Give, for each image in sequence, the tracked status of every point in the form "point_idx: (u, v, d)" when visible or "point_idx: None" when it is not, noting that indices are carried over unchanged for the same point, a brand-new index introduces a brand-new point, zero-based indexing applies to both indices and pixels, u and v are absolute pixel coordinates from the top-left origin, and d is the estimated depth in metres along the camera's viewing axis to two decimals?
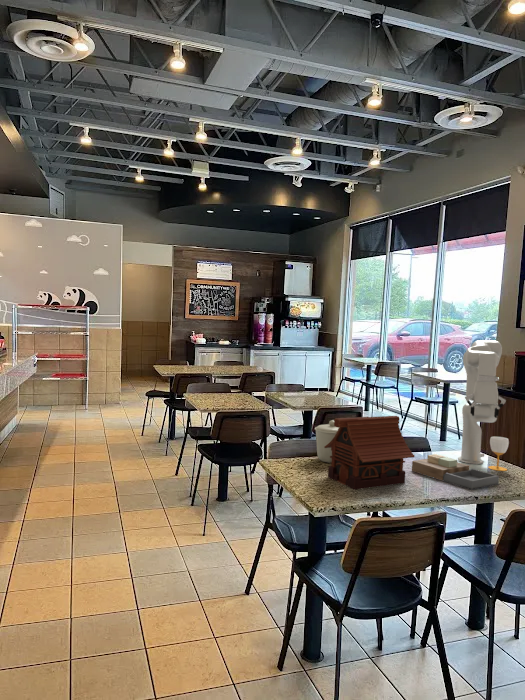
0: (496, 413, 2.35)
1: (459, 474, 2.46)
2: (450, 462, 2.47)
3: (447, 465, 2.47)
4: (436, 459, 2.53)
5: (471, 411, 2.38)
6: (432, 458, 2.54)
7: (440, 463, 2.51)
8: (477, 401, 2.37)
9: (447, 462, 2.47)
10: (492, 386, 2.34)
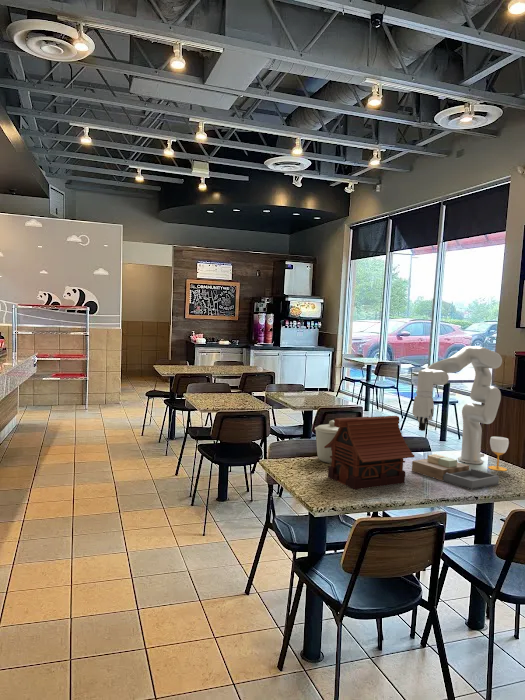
0: None
1: (459, 474, 2.46)
2: (450, 462, 2.47)
3: (447, 465, 2.47)
4: (436, 459, 2.53)
5: None
6: (432, 458, 2.54)
7: (440, 463, 2.51)
8: None
9: (447, 462, 2.47)
10: None
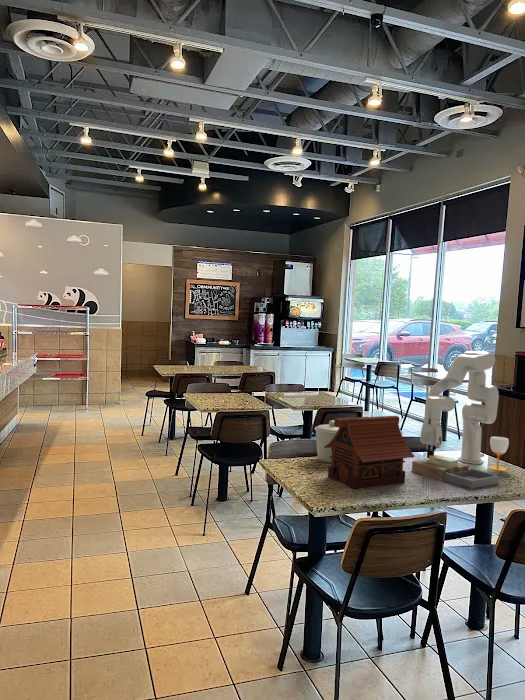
0: None
1: (459, 474, 2.46)
2: (451, 462, 2.47)
3: (448, 465, 2.47)
4: (438, 460, 2.52)
5: (433, 454, 2.58)
6: (434, 459, 2.54)
7: (441, 463, 2.50)
8: None
9: (448, 462, 2.47)
10: None
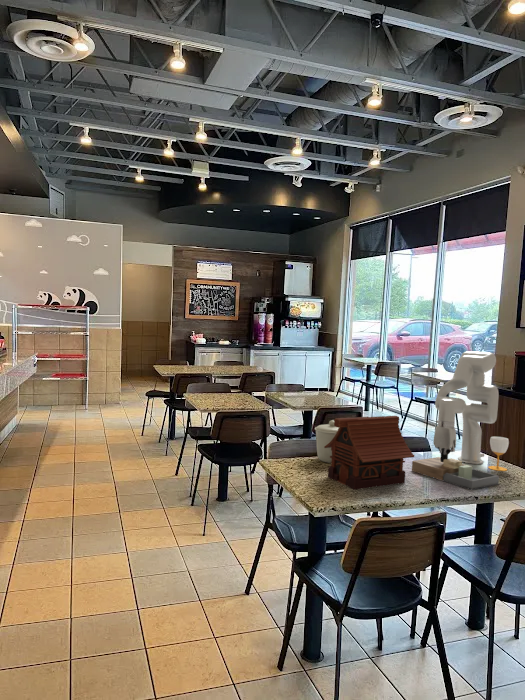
0: None
1: None
2: None
3: None
4: (452, 464, 2.45)
5: None
6: (448, 463, 2.47)
7: (460, 469, 2.42)
8: None
9: None
10: None
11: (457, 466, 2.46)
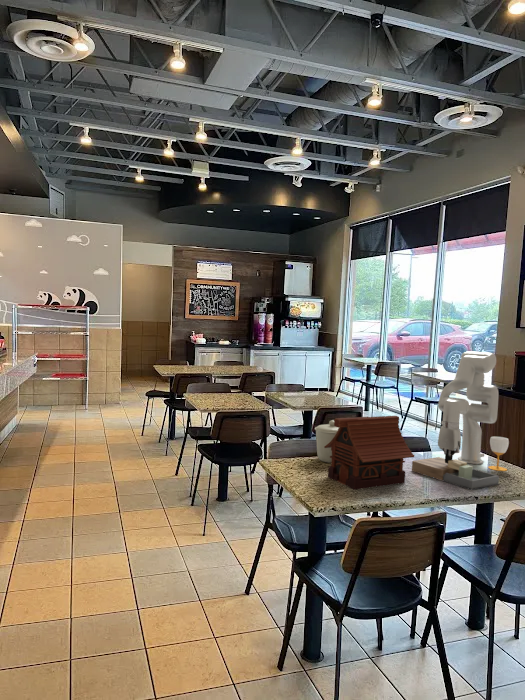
0: None
1: None
2: None
3: None
4: (458, 465, 2.43)
5: (451, 459, 2.50)
6: (453, 464, 2.45)
7: (460, 469, 2.42)
8: None
9: None
10: None
11: None
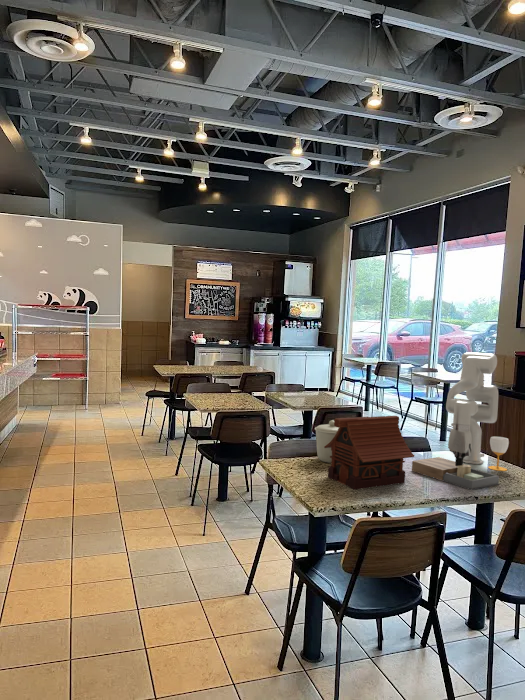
0: None
1: None
2: None
3: (465, 476, 2.39)
4: None
5: (462, 462, 2.45)
6: (460, 473, 2.41)
7: (473, 478, 2.36)
8: None
9: None
10: None
11: None
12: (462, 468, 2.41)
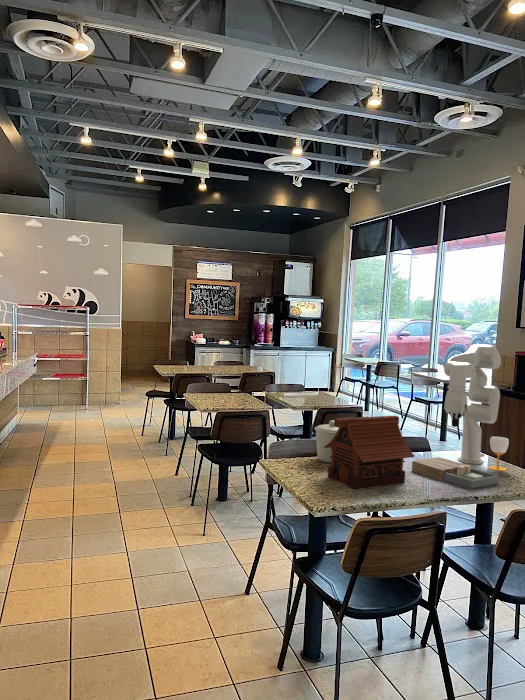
0: None
1: None
2: None
3: (465, 476, 2.39)
4: None
5: (458, 422, 2.52)
6: (460, 473, 2.41)
7: (473, 478, 2.36)
8: None
9: None
10: None
11: None
12: (462, 468, 2.41)
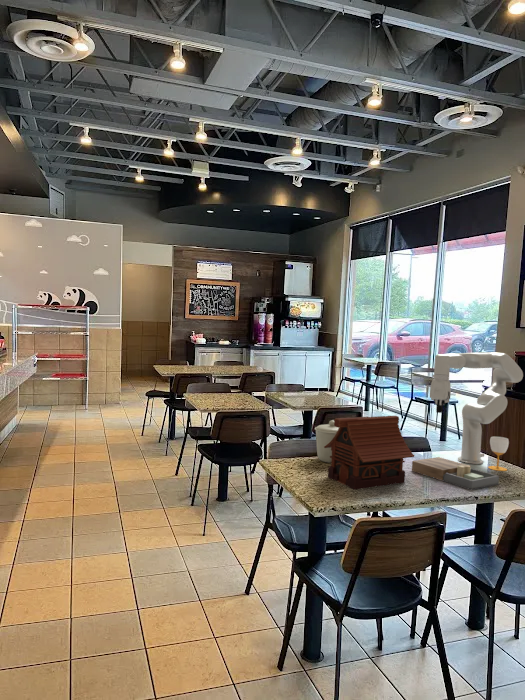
0: None
1: None
2: None
3: (465, 476, 2.39)
4: None
5: (442, 409, 2.73)
6: (460, 473, 2.41)
7: (473, 478, 2.36)
8: None
9: None
10: None
11: None
12: (462, 468, 2.41)
